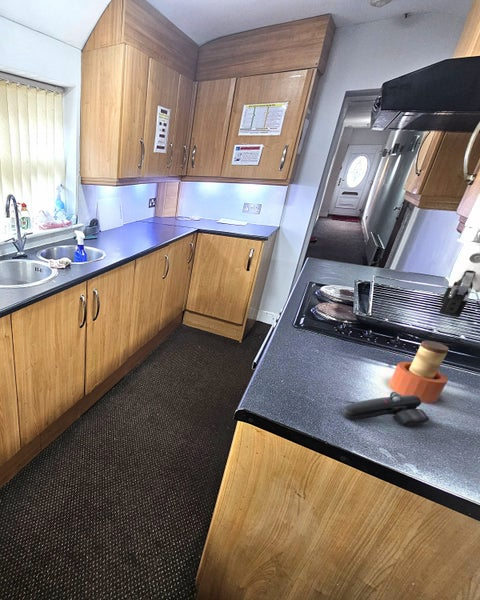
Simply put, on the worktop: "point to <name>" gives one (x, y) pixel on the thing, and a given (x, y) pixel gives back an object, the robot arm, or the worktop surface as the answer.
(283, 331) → the worktop surface
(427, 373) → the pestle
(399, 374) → the bowl
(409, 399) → the can opener
